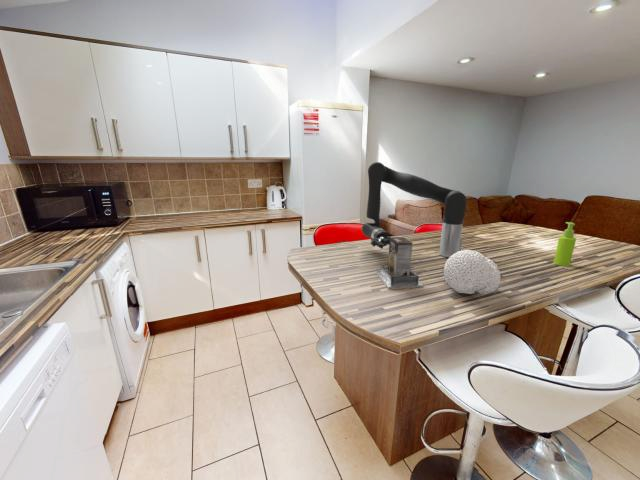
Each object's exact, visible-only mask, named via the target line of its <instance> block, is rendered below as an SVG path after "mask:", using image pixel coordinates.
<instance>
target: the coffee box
mask: <svg viewBox="0 0 640 480" xmlns="http://www.w3.org/2000/svg"><path fill="white" fill-rule="evenodd" d="M412 253H413V242H411V241H410V240H408V238H406V237H404V236H402V237H400V236H391V237H390V243H389V245H388V259H387V261H388V262H387V270H388V271H389V273H390V274H391V275H392V276H393V277H396V276H409V275H410V269H411V264H412Z"/></svg>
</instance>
